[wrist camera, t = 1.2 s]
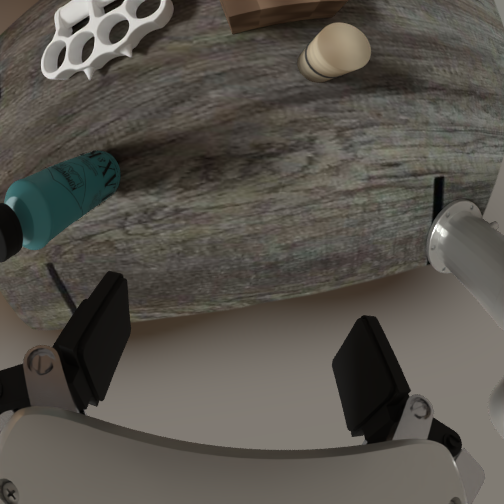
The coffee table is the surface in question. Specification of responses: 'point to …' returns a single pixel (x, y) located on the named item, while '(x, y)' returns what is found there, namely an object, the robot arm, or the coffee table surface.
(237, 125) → the coffee table surface
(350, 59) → the peg
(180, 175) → the coffee table surface
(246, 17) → the socket block
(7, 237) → the beverage bottle
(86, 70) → the knuckle duster
